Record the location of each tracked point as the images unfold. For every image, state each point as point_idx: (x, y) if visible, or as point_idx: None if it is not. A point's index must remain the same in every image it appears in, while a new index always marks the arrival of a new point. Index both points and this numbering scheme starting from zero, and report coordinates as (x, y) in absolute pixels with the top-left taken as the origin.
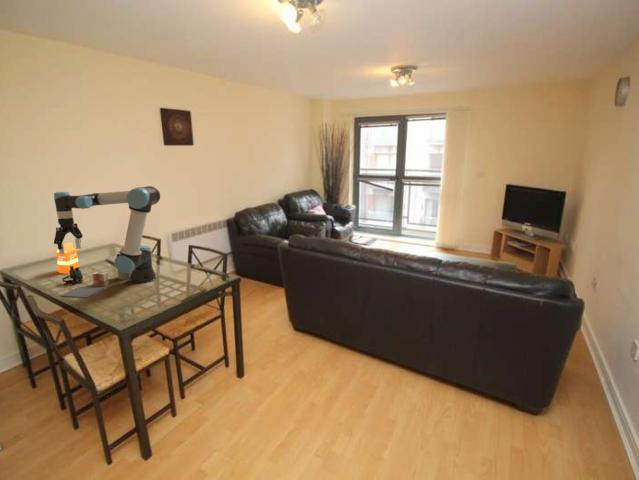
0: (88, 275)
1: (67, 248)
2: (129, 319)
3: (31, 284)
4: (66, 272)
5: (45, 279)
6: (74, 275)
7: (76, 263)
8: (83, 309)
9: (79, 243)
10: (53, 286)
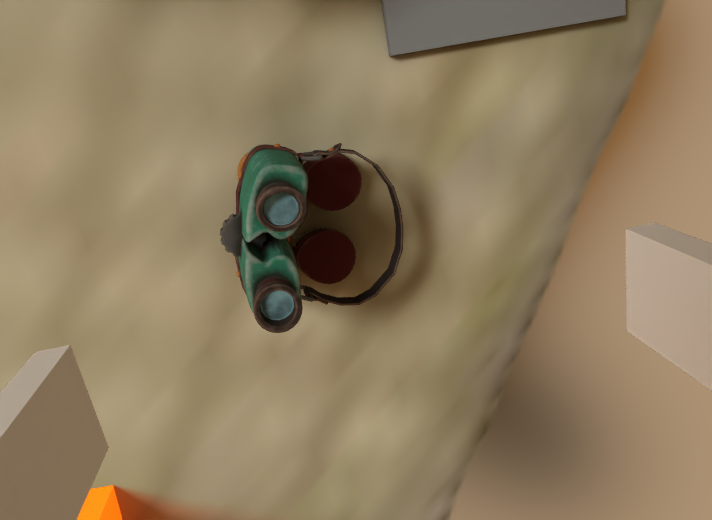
0: (68, 274)
1: None
2: None
3: (438, 496)
4: (117, 515)
5: (314, 513)
6: (283, 239)
7: None
8: None
9: (3, 450)
10: (429, 307)
